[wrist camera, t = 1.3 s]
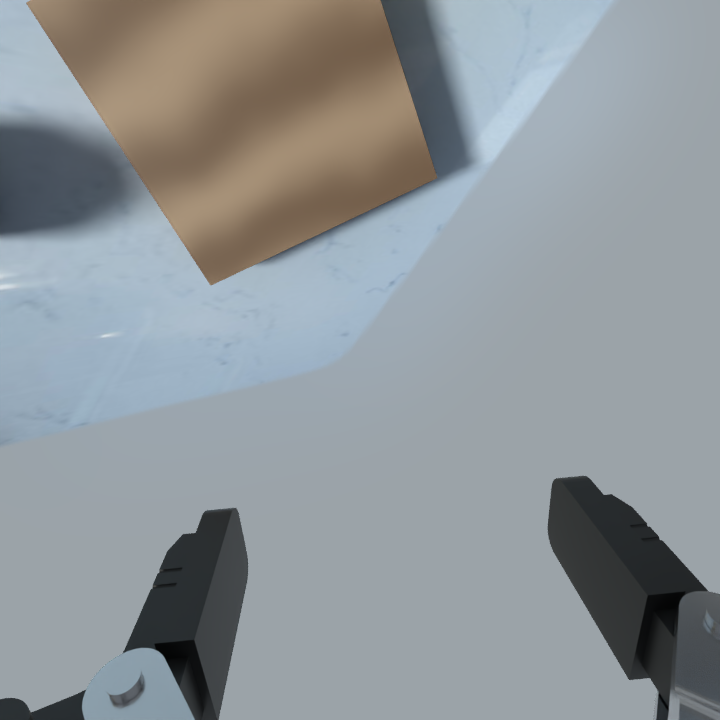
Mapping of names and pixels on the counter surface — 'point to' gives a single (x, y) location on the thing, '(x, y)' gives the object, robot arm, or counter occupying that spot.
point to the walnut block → (248, 113)
